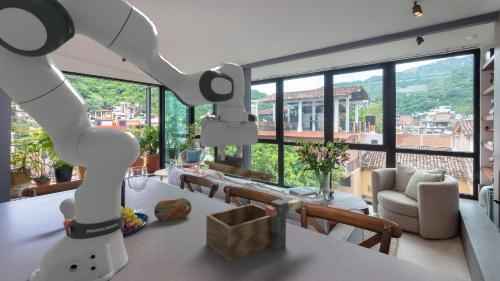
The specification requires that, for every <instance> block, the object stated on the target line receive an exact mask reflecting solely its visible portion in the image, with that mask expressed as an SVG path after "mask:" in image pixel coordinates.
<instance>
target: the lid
mask: <svg viewBox="0 0 500 281" xmlns="http://www.w3.org/2000/svg"><path fill="white" fill-rule="evenodd" d="M244 161H245V158H241V157H240V158H238V157H233V155H228V160H225V161H223V160H221V154H220V153H219V154H218V157H217V161H216V162H214V161H210V160H204V162H203V164H204V165H206V166H207V165H208V170H212V171H216V172H220V173H223V174H228V175H233V176H237V177H243V178H248V179H254V180H257V181H262V182H269V183H270V182H271V180H277V175H273V174H270V173H264V172H259V171H255V170H250V169H246V168H243V165H244Z"/></svg>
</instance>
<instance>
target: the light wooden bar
mask: <svg viewBox="0 0 500 281" xmlns="http://www.w3.org/2000/svg"><path fill="white" fill-rule="evenodd" d="M287 202H289V212H291V211H293V210H297V209H301V208H303V207H304V200H303V199H300V198H295V199H291V200H288V201H287ZM264 208H265V214H266V215H268V216H271V217H273V216H275V215H278V207H277V206H274V205H267V206H265V207H264Z"/></svg>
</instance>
